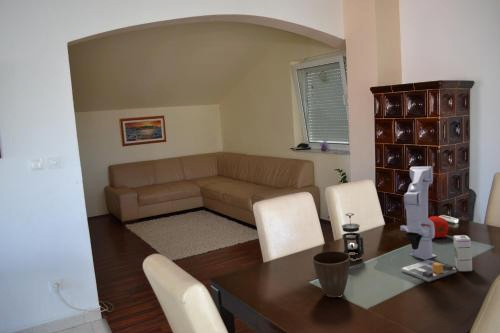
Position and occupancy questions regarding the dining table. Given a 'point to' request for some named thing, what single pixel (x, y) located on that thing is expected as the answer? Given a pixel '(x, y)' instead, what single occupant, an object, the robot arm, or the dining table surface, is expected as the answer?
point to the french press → (352, 246)
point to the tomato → (439, 226)
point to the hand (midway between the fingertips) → (415, 248)
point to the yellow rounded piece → (437, 267)
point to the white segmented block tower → (462, 253)
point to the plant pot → (332, 271)
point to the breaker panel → (427, 270)
